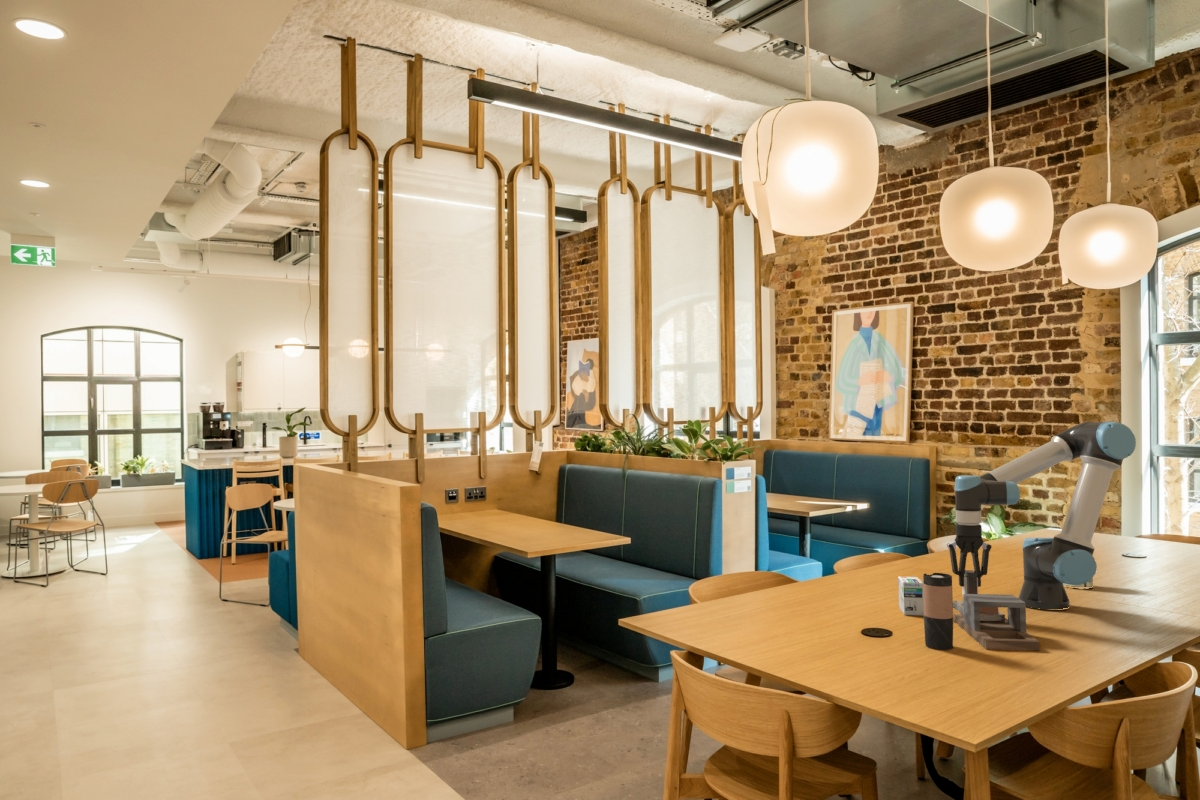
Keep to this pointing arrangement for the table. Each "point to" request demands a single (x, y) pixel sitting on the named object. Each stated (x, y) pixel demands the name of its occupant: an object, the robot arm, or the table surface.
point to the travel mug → (938, 611)
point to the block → (989, 610)
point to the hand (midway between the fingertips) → (970, 596)
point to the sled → (972, 589)
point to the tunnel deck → (997, 623)
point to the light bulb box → (911, 595)
